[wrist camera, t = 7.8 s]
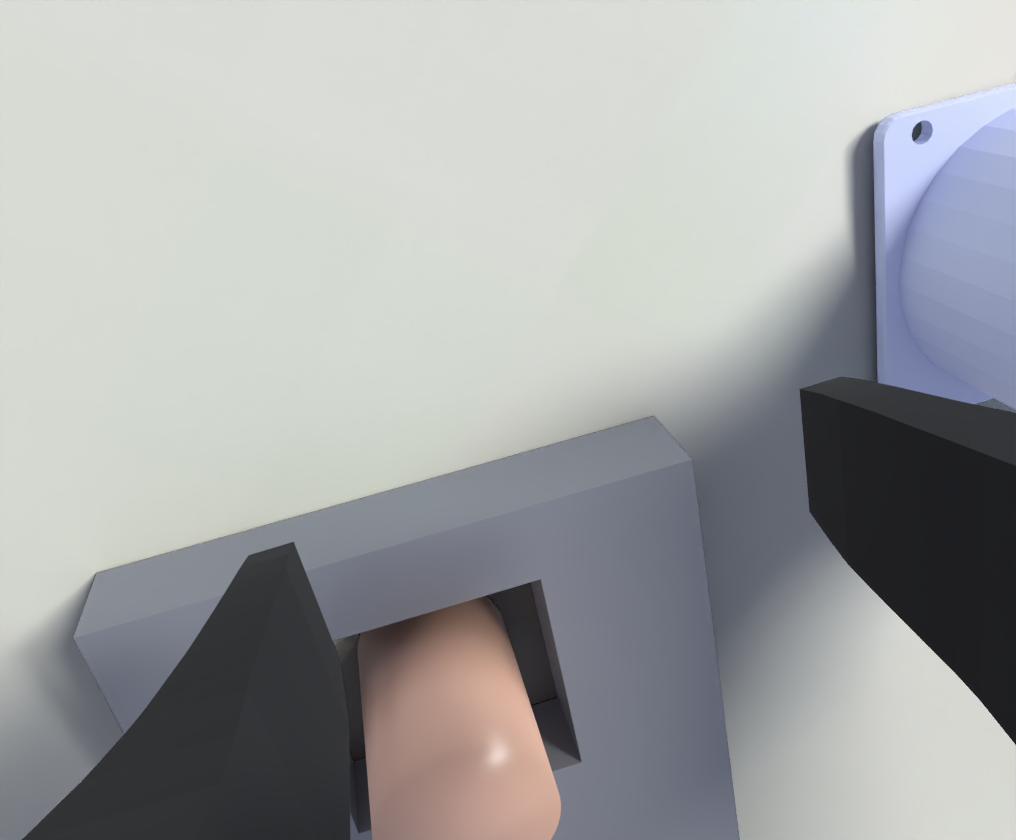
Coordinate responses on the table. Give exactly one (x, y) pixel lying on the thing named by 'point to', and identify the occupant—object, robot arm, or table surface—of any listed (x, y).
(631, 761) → the housing
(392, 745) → the pink rounded capsule
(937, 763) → the table surface
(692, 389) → the table surface
